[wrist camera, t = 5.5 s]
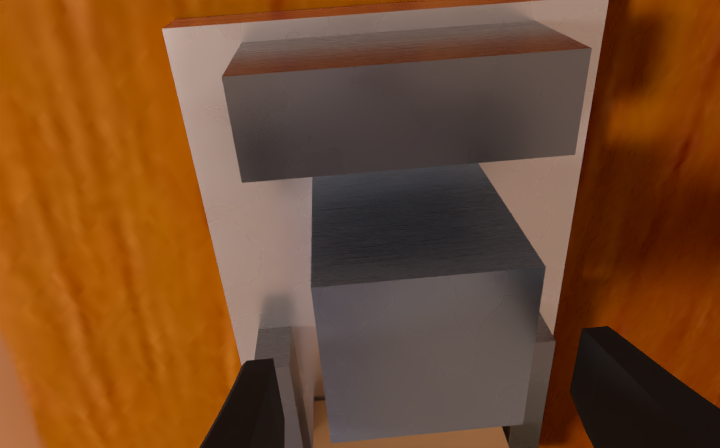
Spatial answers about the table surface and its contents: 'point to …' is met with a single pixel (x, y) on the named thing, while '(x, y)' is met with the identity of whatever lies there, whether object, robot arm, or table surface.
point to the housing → (421, 302)
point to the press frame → (378, 145)
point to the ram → (409, 437)
